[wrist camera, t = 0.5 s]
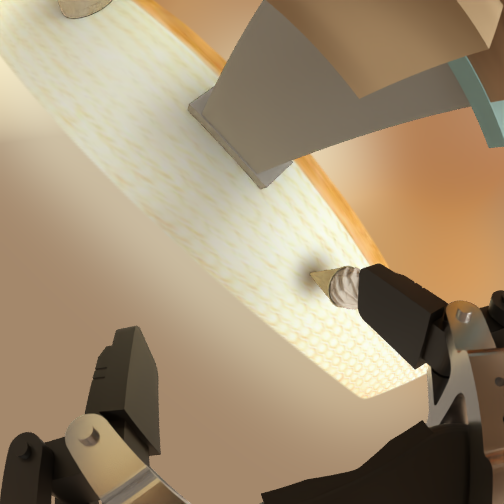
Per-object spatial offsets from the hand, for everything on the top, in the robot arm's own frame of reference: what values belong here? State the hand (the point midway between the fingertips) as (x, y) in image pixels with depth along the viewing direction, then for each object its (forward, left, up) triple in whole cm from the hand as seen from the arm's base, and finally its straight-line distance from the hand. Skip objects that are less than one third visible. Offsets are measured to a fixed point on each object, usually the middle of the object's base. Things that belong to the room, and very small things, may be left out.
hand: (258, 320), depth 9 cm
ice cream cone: (+10, +14, -26) cm, 31 cm away
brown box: (-9, +7, +5) cm, 12 cm away
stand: (-11, +11, -25) cm, 30 cm away
